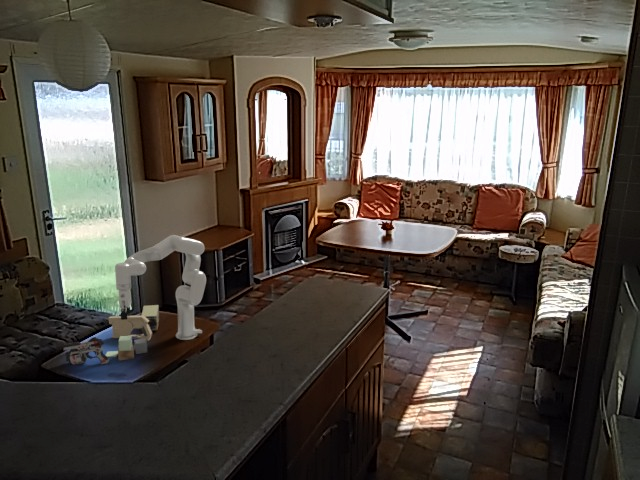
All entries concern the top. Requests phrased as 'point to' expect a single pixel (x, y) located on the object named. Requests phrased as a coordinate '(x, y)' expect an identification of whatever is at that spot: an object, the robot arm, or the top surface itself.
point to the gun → (130, 326)
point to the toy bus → (152, 315)
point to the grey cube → (140, 346)
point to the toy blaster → (85, 351)
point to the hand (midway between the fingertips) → (125, 315)
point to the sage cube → (125, 343)
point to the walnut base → (126, 354)
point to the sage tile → (112, 354)
